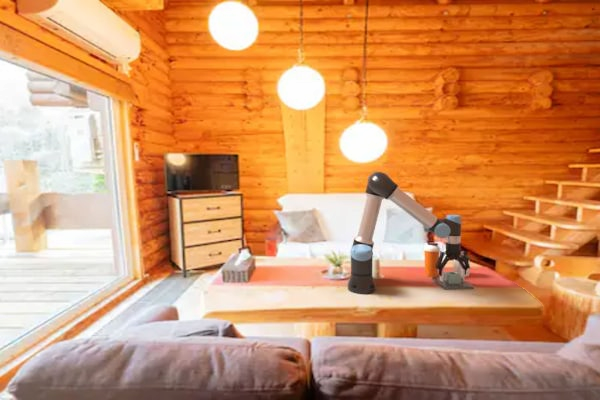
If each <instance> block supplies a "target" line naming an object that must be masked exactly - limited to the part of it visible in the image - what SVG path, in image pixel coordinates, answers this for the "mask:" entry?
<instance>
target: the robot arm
mask: <svg viewBox="0 0 600 400" xmlns="http://www.w3.org/2000/svg"><path fill="white" fill-rule="evenodd" d="M399 186H400V185H398V184H397V183H396V182H395V181H394V180H392V178H391V177H390V176H389V175H388V174H387V173H385V172H382V171H375V172H373V173H371V174H370V175H369V176H368V178H367V184H366V188H365V195H366V200H365V204H364V208H363V212H362V215H361V216H362V217H361V221H360V224H359V229H358V232H357V233H358V234H357V236H355V237H354V238H353V242H352V244H351V248H350V276H349V279H348V282H347V289H348V291H349V292H352V293H354V294H355V293H356V294H361V295H362V294H365V295H366V294H367V295H368V294H372V293H375V292H376V288H377V287H376V282H375V280H374V279H375V278H374V276H373V260H374V259H373V256H374V252H373V249H374V245H375V242H374V241H373V238H374V235H375V229H376V226H377V221H378V217H379V213H380V210H381V206H382V203H383V202H382V201H383V200H384V199H385V200H387V201H388V200H389V201H391V202H392V203H394V204H395V205H396V206H397V207H398V208H400V209H401V210H403V211H404V212H405V213H407V215H409V216H410V217H411V218H413V219H414V220H416V221H417V222H418V223H419V224H421V225H422V226H423V231H424V232H427V233H432V234H434V235H435V236H436V237H437V238H440V239H445V251H442V250H440V251H439V258H438V261H437V263H436V266H435V268H437V269H438V275H439V277H440V281H442V282H443V277H445V271H444V268H445V267H446V265H447V263H448V262H449V261H450V260H454V259H457V260H458V262H459V263H460V265H461V266H462V268H463V269H462V268H461V280H462V281H464V280H465V278H466V277H465V275H466V270H467V269H468V268H471V266H469V263H468V260H467V257H466V255H467V252H466V251H464V250H462V251H461V242H462V241H461V239H462V236H461V235H462V216H461V215H460V214H447V215H446V218H438V216H436V215H435V214H433V213H431V211H429V210H428V209H427V208H426V207H424V206H423V205H421V204H420V203H419V202H417V201H416V200H415V199H413V198H412V197H411V196H409V194H407V193H406V192H404V191H403V190H402V189H401V188H400V187H399ZM460 254H461V255H462V257H463V260H464V263H465V265H464V263H463V262H462V260H461V258H460V257H459V256H460ZM465 281H466V280H465Z"/></svg>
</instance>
